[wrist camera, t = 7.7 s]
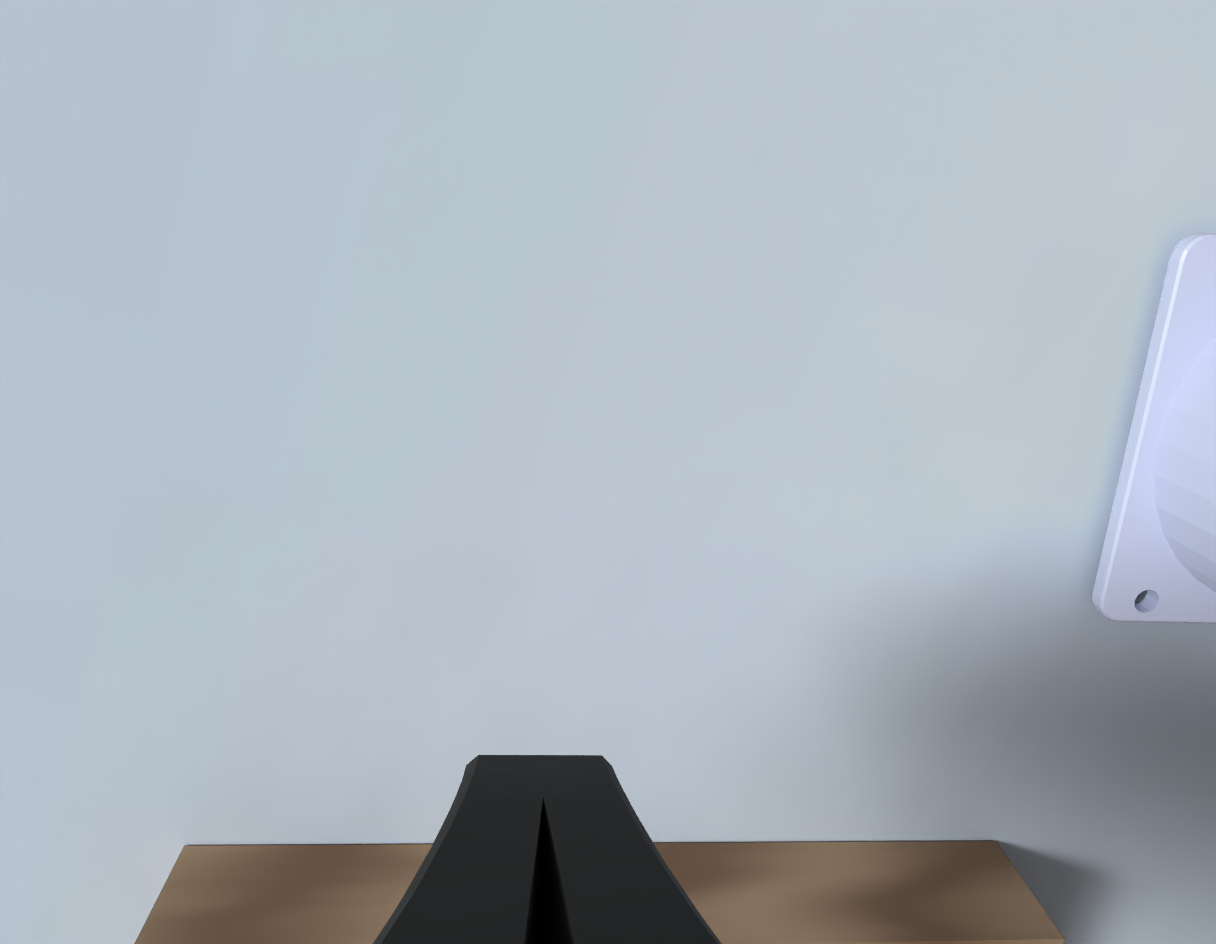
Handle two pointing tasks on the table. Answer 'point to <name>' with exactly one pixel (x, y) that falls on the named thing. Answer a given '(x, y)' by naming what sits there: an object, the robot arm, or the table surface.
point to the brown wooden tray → (708, 872)
